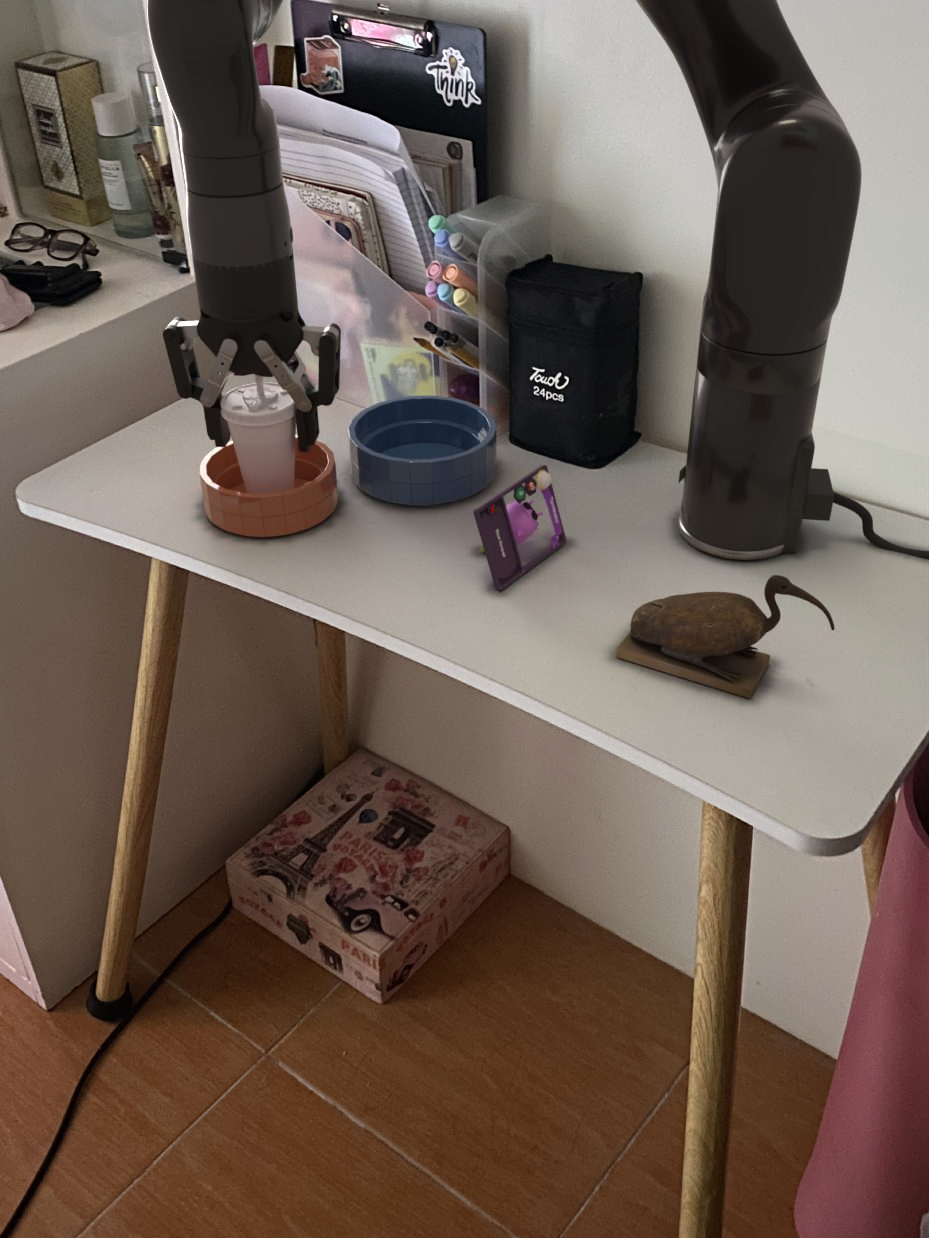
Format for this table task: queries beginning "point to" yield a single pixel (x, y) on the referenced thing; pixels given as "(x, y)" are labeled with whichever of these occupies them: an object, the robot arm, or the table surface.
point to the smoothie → (262, 434)
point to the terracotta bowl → (269, 494)
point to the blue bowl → (422, 450)
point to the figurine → (709, 635)
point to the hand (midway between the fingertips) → (265, 444)
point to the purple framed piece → (516, 526)
